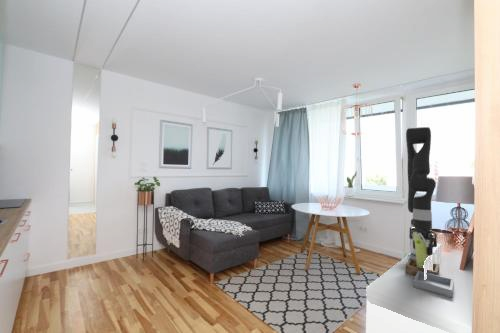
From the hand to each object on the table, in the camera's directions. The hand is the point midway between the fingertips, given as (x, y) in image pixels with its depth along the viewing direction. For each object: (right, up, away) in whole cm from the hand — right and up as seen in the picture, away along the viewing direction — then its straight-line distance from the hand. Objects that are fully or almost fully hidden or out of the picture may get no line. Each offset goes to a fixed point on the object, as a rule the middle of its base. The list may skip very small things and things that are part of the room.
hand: (422, 251), depth 115 cm
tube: (0, -11, 0) cm, 11 cm away
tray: (-5, -10, -13) cm, 17 cm away
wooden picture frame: (0, -10, 0) cm, 10 cm away
